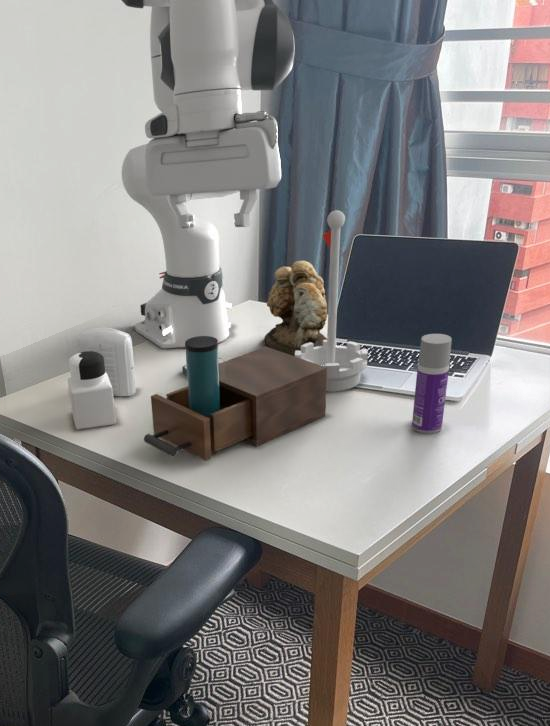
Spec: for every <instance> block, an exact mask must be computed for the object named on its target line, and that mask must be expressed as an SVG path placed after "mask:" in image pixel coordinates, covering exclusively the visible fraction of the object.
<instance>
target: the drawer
mask: <svg viewBox="0 0 550 726" xmlns="http://www.w3.org/2000/svg"><path fill="white" fill-rule="evenodd" d="M219 393H220V410H219V411H217V412H214V413H212V414H210V419H209V418H207V417H205V416H203V415H201V414H199V413H196V412H194V411H192V410H190V409H189V398H188V385H186V386H184V387H182V388H179V389H176V390H174V391H171V392H167V393H166V397H164V396H162V395H159V394H157V393H155V394H152V395H150V404H151V405H150V406H151V414H152V415H151V417H152V428H153V434H150V433H146V434H145V435H144V437H143V442H144V443H146V444H147V445H150V446H151V447H153V448H154V449H157V450H159V451H160V452H162V453H164V454H166V455H167V456H170V457H172V458H173V457H175V456H177V454H178V452H180V451H182V450H184V451H185V452H187V453H190V454H191V455H193V456H195V457H197V458H199V459H201V460H203V461H205V462H207V461H209V460H212V452H214V453H216V452H218V451H220V450H223V449H225V448H227V447H229V446H232V445H235V444H237V443H239V442H241V441H244V439H246V438H248V437H251V436H253V404H252V399H250V398H247V397H245V396H242V395H240V394H238V393H235V392H233V391H230V390H228V389H226V388H223V387H221V386H219ZM210 421H211V435H210ZM160 438H161V439H163V440H161V439H160ZM164 440H165V441H164ZM169 443H170V444H169ZM171 444H172V445H171ZM173 445H174V446H173Z"/></svg>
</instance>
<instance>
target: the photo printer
mask: <svg viewBox="0 0 550 726" xmlns="http://www.w3.org/2000/svg"><path fill="white" fill-rule="evenodd" d="M78 349H79V353H80V352H85V351H93V352H98V353H100V354H102V355H103V356H104V363H105V372H106V373H107V375H108V378H109V380H110V383H111V386H112V390H113V396H116V397H117V396H118V397H132V396H133V395H135V393H136V392H137V391H136V376H135V375H136V373H135V364H134V363H135V361H134V352H133V351H134V350H133V340H132V337H131V335H130V334H129V333H127V332H125V331H123V330H119V329H114V328H109V327H95V328H89V329H86V330H83V331H82V332H80V333H79V336H78Z"/></svg>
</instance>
